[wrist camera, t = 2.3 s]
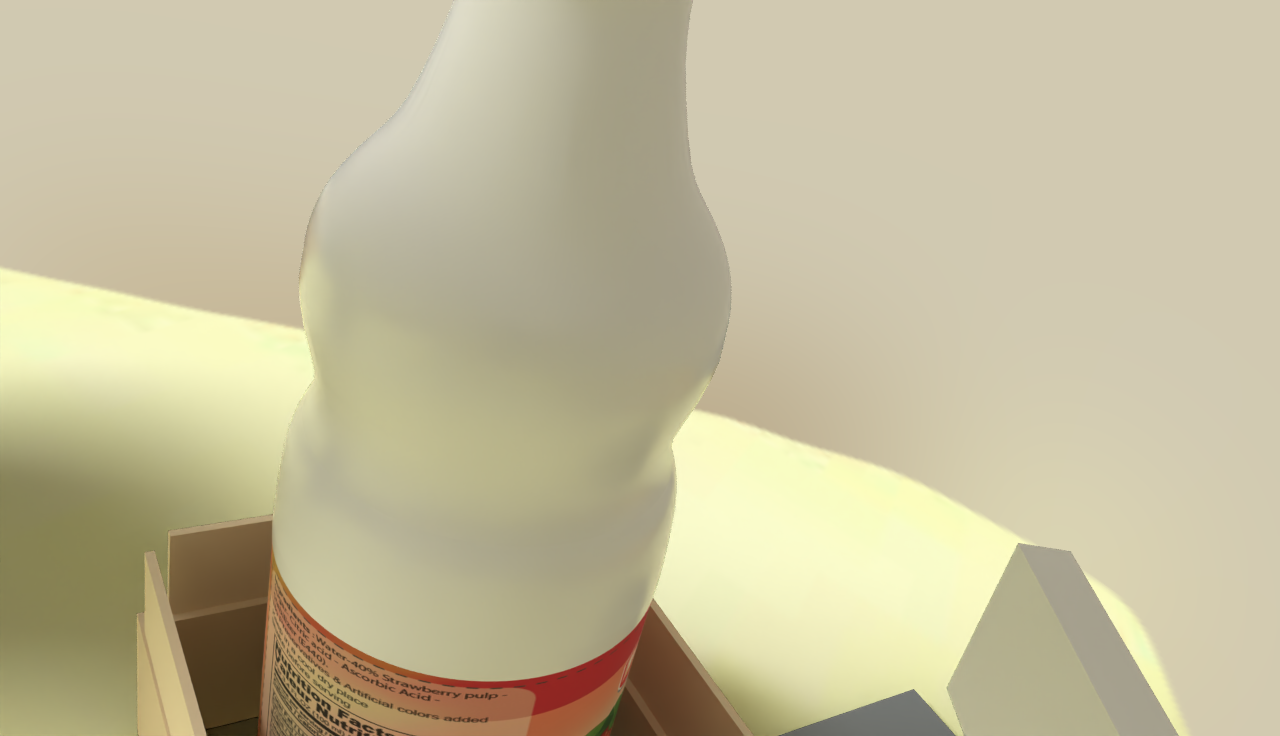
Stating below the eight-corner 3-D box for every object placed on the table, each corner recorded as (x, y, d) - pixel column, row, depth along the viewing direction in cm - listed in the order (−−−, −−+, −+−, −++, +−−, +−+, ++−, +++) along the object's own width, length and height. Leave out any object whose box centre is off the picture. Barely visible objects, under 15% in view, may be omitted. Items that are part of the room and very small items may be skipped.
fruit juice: (257, 720, 35) (329, -251, 21) (541, 712, 38) (766, -147, 24) (235, 1018, 28) (326, -191, 14) (593, 979, 31) (964, -51, 17)
